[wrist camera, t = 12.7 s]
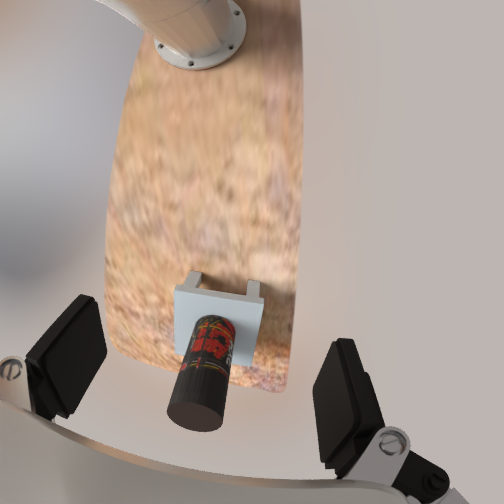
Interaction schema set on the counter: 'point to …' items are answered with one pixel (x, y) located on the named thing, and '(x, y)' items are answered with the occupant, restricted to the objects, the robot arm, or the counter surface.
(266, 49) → the counter surface
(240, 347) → the pale blue square tabletop
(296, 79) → the counter surface
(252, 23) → the counter surface
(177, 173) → the counter surface
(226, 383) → the deodorant
